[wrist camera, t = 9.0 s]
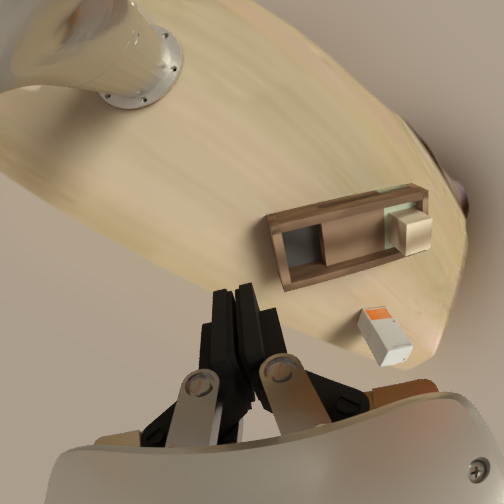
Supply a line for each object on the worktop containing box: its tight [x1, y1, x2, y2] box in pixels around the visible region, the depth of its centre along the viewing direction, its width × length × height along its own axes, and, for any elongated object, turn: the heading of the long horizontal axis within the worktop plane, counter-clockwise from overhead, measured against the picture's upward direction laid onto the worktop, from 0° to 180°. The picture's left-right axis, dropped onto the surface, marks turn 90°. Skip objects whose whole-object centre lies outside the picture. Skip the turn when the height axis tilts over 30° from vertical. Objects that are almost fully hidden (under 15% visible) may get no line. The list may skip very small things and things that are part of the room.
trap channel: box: [266, 183, 428, 292], centre depth 38 cm, size 10×25×4 cm, turn 103°
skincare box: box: [357, 307, 414, 367], centre depth 44 cm, size 6×4×12 cm
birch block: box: [389, 207, 432, 256], centre depth 36 cm, size 5×5×5 cm
